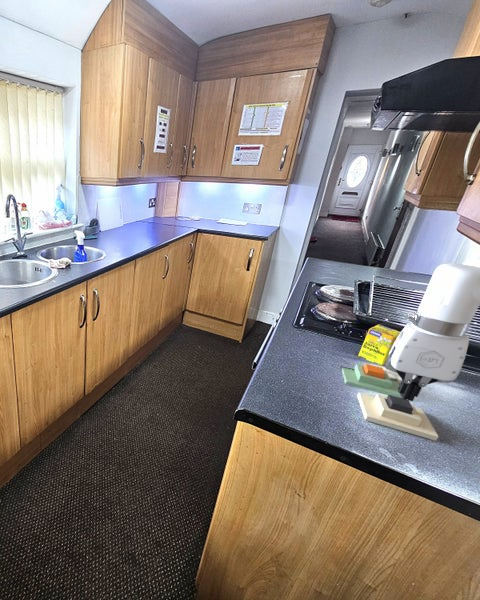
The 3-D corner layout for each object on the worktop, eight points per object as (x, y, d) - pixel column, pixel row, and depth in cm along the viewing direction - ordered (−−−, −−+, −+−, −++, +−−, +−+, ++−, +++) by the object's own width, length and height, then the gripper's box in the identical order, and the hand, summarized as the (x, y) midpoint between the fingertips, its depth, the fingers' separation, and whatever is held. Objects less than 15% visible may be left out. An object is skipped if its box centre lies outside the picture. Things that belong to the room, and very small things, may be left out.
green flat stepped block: (393, 379, 90) (397, 370, 88) (404, 400, 82) (409, 390, 80) (339, 366, 95) (342, 358, 94) (344, 384, 87) (348, 375, 86)
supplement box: (356, 360, 99) (368, 328, 94) (366, 354, 101) (379, 323, 97) (379, 370, 94) (394, 337, 89) (390, 364, 96) (404, 332, 92)
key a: (405, 405, 76) (408, 399, 75) (410, 415, 73) (413, 409, 72) (385, 400, 77) (388, 394, 77) (389, 409, 75) (392, 403, 74)
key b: (379, 373, 88) (382, 367, 87) (383, 379, 85) (385, 374, 84) (363, 369, 90) (365, 363, 89) (365, 375, 87) (368, 370, 86)
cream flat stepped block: (420, 412, 77) (425, 402, 76) (436, 441, 69) (442, 430, 68) (357, 395, 83) (361, 386, 82) (365, 420, 75) (369, 409, 74)
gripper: (396, 323, 67) (366, 395, 74) (502, 341, 60) (458, 418, 67) (387, 310, 73) (360, 378, 80) (482, 325, 66) (444, 398, 73)
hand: (405, 396), depth 74 cm, fingers closed
